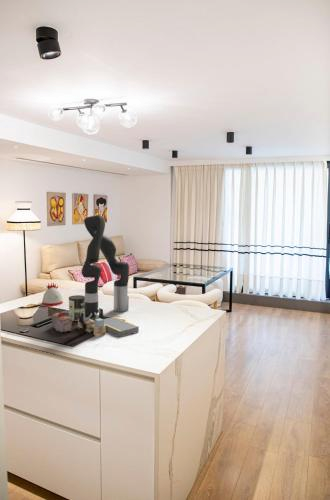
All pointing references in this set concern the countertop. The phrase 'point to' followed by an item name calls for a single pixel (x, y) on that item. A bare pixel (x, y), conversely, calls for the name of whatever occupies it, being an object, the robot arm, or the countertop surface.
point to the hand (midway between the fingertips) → (91, 328)
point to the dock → (120, 327)
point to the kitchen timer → (52, 296)
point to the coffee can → (76, 306)
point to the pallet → (94, 328)
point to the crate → (99, 322)
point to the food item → (61, 322)
